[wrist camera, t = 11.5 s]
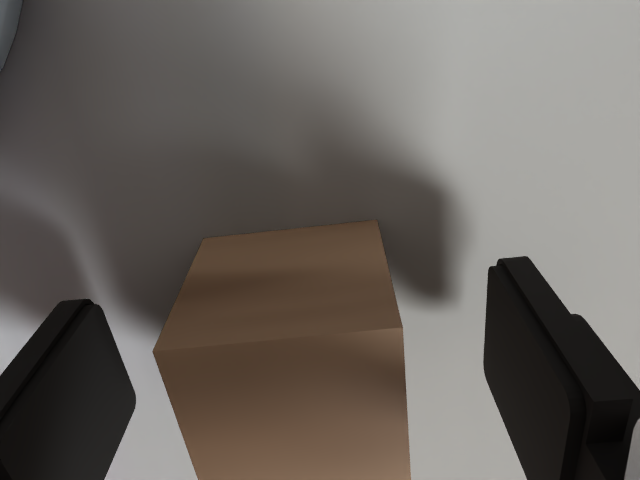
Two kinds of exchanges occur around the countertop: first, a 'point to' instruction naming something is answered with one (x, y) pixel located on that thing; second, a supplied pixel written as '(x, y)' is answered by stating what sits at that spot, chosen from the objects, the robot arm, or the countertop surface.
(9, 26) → the dish
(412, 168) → the countertop surface
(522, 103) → the countertop surface
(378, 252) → the block
